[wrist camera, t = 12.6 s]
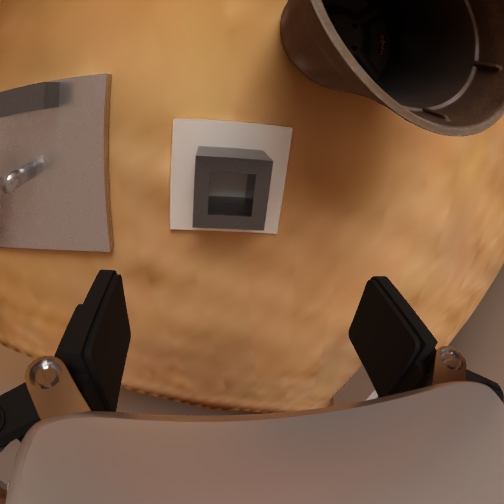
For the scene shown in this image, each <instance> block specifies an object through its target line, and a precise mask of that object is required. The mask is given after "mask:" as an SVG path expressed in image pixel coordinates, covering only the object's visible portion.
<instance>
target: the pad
mask: <svg viewBox="0 0 504 504" xmlns="http://www.w3.org/2000/svg"><path fill="white" fill-rule="evenodd" d="M292 130H293V128H291V127H285V126H277V125H268V124H259V123H249V122H238V121H225V120H209V119H185V118H174V119H173V134H172V154H171V182H170V229H180V230H206V231H229V232H251V233H271V234H277V231H278V224H279V218H280V212H281V205H282V199H283V192H284V185H285V179H286V172H287V165H288V158H289V152H290V145H291V138H292ZM198 146H209V147H226V148H241V149H253V150H263V151H264V152H265V153H266V154H267V155H268V156H269V157H270V158H271V159H272V160H273V167H272V175H271V183H270V190H269V198H268V205H267V212H266V220H265V227H264V231H262V230H240V229H217V228H192V226H193V197H194V176H195V159H196V153H197V149H198ZM247 175H248V174H244V173H229V172H210V183H209V196H227V197H245V194H246V185H247Z"/></svg>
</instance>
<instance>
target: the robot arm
mask: <svg viewBox="0 0 504 504" xmlns="http://www.w3.org/2000/svg"><path fill="white" fill-rule="evenodd" d="M130 338H131V331H130V325H129V320H128V315H127V309H126V303H125V297H124V290H123V284H122V277H121V275H117V273H116V271H115V270H100V271H99V273H98V274H97V276H96V278H95V280H94V282H93V284H92V286H91V288H90V290H89V292H88V295H87V297H86V299H85V301H84V303H83V304H79V305H78V306H77V307H76V309H75V311H74V313H73V315H72V317H71V319H70V322H69V324H68V326H67V328H66V330H65V333H64V335H63V337H62V339H61V342H60V344H59V346H58V349H57V351H56V354H55V356H54V357H53V356H43V357H40V358H37V359H36V360H34V361H33V362H32V363H31V364H30V365H29V366H28V368H27V369H26V372H25V383H23V384H21V385H19V386H18V387H16V388H14V389H12V390H10V391H8V392H6V393H4V394H2V395H1V396H0V504H504V396H503V392H502V390H501V388H500V386H499V385H498V384H497V383H495V382H493V381H491V380H489V379H487V378H485V377H482V376H480V375H478V374H476V373H473V372H471V371H469V370H467V369H466V368H467V367H466V366H467V365H466V360H465V358H464V356H463V355H462V354H461V353H460V352H459V351H458V350H456V349H454V348H453V347H449V346H442V347H440V348H438V349H437V350H436V349H435V346H436V344H437V343H438V342H437V340H436V339H435V338H434V336H433V335H432V334H431V332H430V331H429V330H428V328H427V327H426V326H425V324H424V323H423V322H422V320H421V319H420V318H419V316H418V315H417V314H416V313H415V311H414V310H413V309H412V307H411V306H410V305H409V304H408V302H407V301H406V300H405V299H404V297H403V296H402V295H401V294H400V292H399V291H398V290H397V289H396V287H395V286H394V285H393V284H392V283H391V281H390V280H389V279H388V278H387V277H385V276H374V277H372V278H371V279H370V280H368V282H367V284H366V286H365V289H364V292H363V295H362V298H361V300H360V303H359V306H358V308H357V311H356V314H355V316H354V319H353V321H352V324H351V326H350V329H349V338H350V340H351V342H352V344H353V346H354V348H355V350H356V352H357V354H358V356H359V358H360V360H361V362H362V364H363V366H364V368H365V370H366V372H367V374H368V376H369V378H370V380H371V382H372V384H373V386H374V389H375V391H376V393H377V395H378V397H379V398H376V399H371V400H366V401H361V402H355V403H349V404H344V405H337V406H331V407H324V408H317V409H309V410H301V411H291V412H281V413H269V414H254V415H230V416H183V415H153V414H138V413H123V412H116V408H117V402H118V396H119V391H120V386H121V381H122V376H123V371H124V366H125V361H126V357H127V352H128V348H129V343H130ZM8 483H9V485H8ZM7 485H8V490H7Z"/></svg>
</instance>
